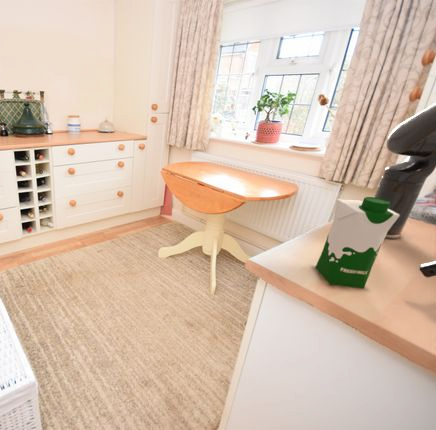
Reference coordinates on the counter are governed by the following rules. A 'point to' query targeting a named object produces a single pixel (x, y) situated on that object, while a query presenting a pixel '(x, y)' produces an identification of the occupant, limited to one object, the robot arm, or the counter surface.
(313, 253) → the counter surface
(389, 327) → the counter surface
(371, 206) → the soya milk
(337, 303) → the counter surface
